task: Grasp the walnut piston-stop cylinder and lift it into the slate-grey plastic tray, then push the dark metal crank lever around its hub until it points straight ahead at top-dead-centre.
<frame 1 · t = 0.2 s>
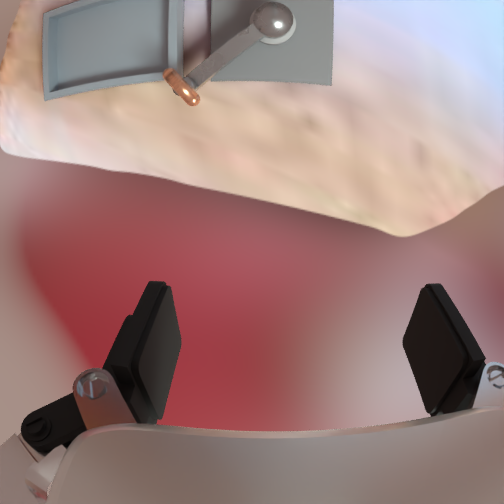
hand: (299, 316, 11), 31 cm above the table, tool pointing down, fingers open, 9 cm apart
crank: (232, 47, 27), point 6 cm above the table, hinge at -50.0°
tray: (112, 40, 31), on the table
crank base: (272, 27, 30), on the table
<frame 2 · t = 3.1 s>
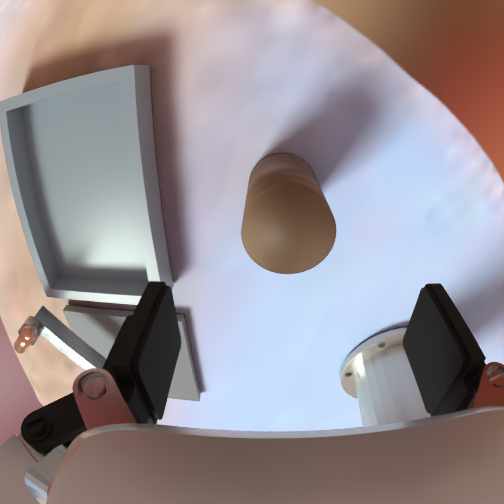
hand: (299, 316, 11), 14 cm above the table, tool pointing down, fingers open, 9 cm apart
crank: (80, 366, 27), point 6 cm above the table, hinge at -50.0°
tray: (89, 190, 24), on the table
stop: (282, 185, 24), on the table
crank base: (135, 355, 34), on the table
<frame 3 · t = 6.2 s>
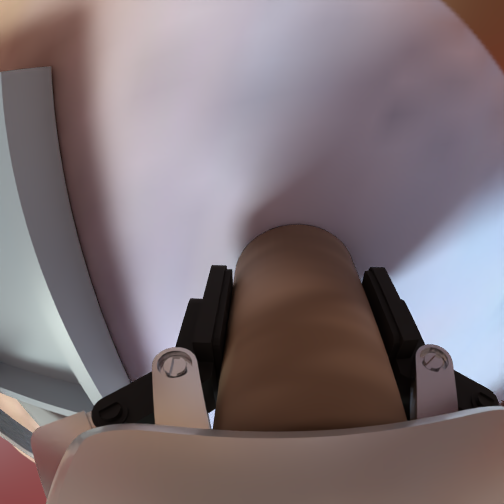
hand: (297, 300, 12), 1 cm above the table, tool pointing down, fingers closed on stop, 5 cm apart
crank: (37, 465, 17), point 6 cm above the table, hinge at -50.0°
tray: (1, 268, 14), on the table
stop: (294, 278, 13), on the table, touching gripper
crank base: (104, 442, 24), on the table
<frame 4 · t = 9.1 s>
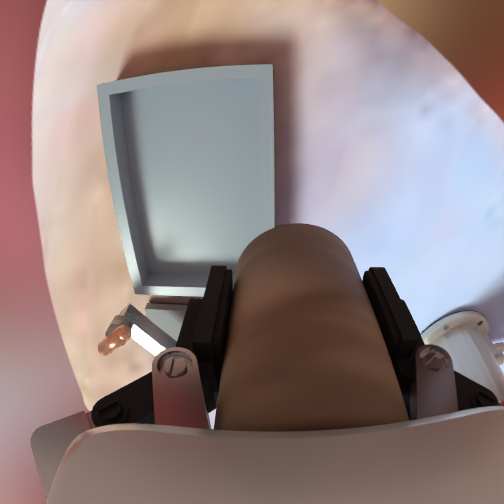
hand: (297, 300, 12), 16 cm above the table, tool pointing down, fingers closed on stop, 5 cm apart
crank: (171, 365, 29), point 6 cm above the table, hinge at -50.0°
tray: (196, 183, 26), on the table
stop: (295, 277, 13), point 14 cm above the table, touching gripper
crank base: (217, 351, 36), on the table
when the fingers open (4 cm above the table, at t = 12.3 s): stop drops 1 cm, resting on tray.
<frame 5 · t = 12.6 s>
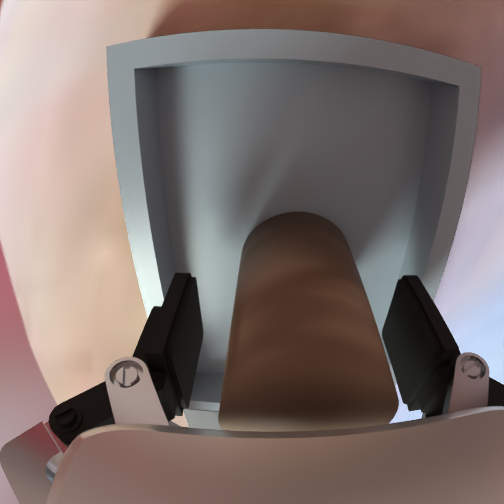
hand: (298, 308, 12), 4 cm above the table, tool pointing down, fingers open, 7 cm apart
crank: (229, 484, 18), point 6 cm above the table, hinge at -50.0°
tray: (291, 251, 15), on the table
stop: (296, 261, 15), point 1 cm above the table, touching tray
crank base: (273, 441, 25), on the table
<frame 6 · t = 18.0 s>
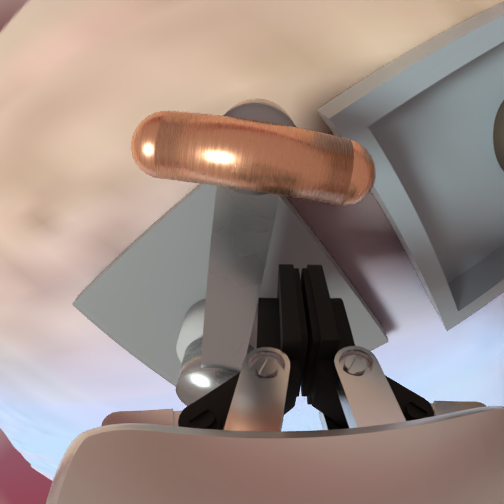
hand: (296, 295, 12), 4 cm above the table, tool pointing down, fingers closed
crank: (228, 323, 11), point 6 cm above the table, hinge at -47.3°, touching gripper
crank base: (228, 318, 19), on the table
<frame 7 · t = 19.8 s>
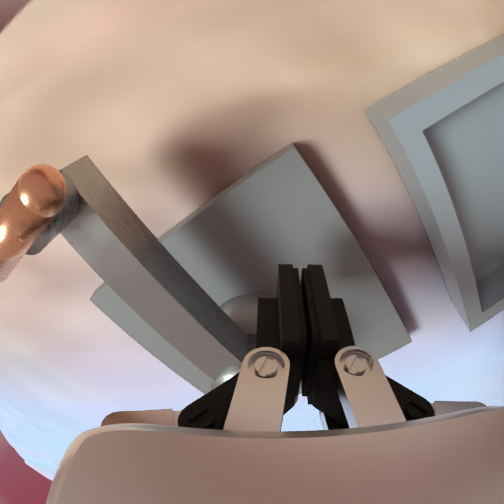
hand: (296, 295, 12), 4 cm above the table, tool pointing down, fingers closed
crank: (170, 334, 11), point 6 cm above the table, hinge at -1.9°
crank base: (257, 316, 18), on the table
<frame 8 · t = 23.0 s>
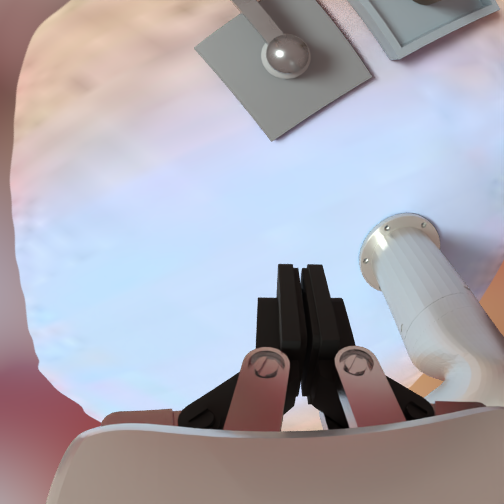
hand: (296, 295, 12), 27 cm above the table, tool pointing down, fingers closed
crank: (254, 11, 23), point 6 cm above the table, hinge at -1.9°
crank base: (284, 57, 30), on the table
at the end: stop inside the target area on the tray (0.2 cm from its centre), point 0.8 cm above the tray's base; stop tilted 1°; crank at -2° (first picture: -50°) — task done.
